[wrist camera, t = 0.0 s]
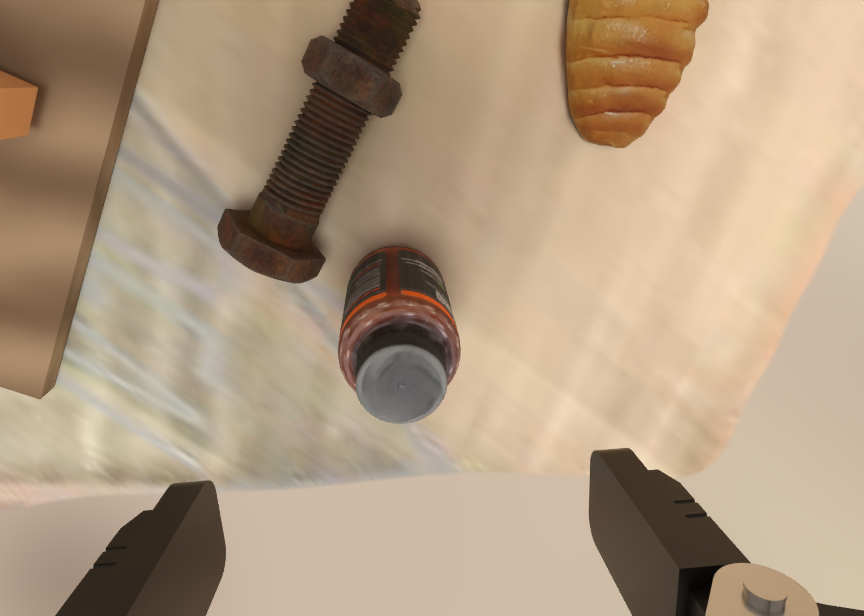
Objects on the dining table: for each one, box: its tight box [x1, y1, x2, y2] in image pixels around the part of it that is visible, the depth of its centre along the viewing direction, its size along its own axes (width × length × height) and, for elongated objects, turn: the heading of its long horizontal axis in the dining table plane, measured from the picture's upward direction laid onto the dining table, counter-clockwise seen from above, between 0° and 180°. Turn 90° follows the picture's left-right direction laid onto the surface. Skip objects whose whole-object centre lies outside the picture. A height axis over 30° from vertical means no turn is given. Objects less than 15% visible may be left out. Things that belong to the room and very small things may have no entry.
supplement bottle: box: [338, 247, 460, 424], centre depth 28 cm, size 6×6×11 cm
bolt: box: [217, 0, 421, 283], centre depth 28 cm, size 6×5×15 cm
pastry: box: [566, 0, 709, 148], centre depth 28 cm, size 9×7×4 cm
